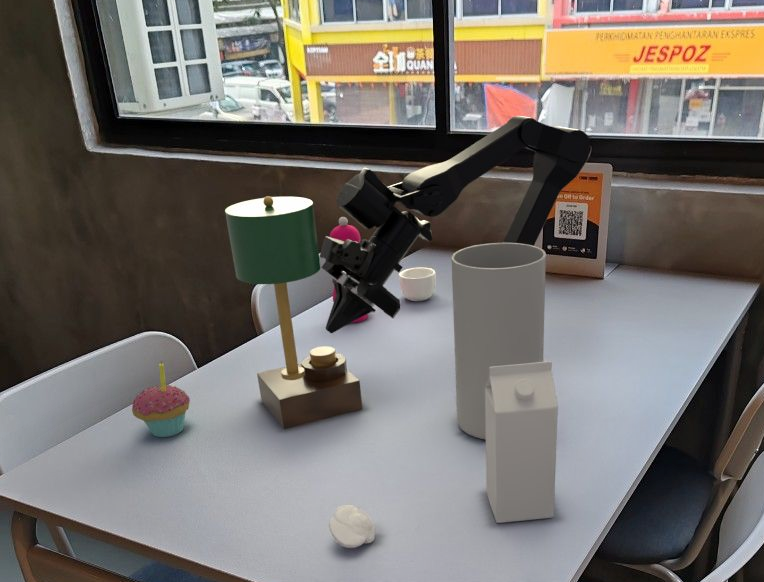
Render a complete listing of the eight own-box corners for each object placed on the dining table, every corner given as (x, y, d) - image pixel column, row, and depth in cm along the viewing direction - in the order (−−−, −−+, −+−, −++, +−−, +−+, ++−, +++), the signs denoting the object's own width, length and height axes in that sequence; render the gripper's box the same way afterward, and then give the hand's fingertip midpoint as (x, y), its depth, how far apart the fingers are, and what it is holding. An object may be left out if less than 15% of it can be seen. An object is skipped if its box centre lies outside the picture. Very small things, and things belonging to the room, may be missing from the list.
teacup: (427, 305, 171) (426, 279, 168) (394, 302, 174) (392, 277, 171) (445, 290, 179) (444, 265, 176) (413, 288, 182) (412, 263, 179)
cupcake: (205, 421, 130) (190, 349, 124) (175, 446, 123) (158, 371, 117) (159, 416, 133) (141, 346, 126) (127, 440, 126) (108, 367, 120)
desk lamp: (317, 354, 132) (295, 183, 119) (344, 380, 123) (324, 196, 109) (244, 371, 128) (213, 195, 115) (267, 398, 119) (236, 210, 105)
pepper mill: (365, 324, 164) (356, 221, 153) (330, 323, 165) (319, 221, 155) (374, 312, 170) (365, 212, 159) (340, 311, 171) (329, 212, 161)
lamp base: (335, 383, 139) (330, 344, 136) (362, 409, 130) (358, 368, 126) (261, 401, 135) (254, 361, 131) (284, 429, 126) (277, 387, 122)
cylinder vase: (531, 447, 116) (534, 270, 103) (446, 437, 120) (439, 267, 107) (549, 409, 126) (554, 244, 113) (470, 401, 130) (466, 241, 117)
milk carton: (486, 494, 106) (484, 355, 96) (540, 488, 106) (544, 350, 96) (496, 524, 100) (495, 379, 90) (554, 518, 100) (559, 373, 90)
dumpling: (342, 526, 102) (347, 497, 101) (380, 539, 101) (386, 511, 99) (317, 548, 96) (321, 518, 94) (357, 563, 95) (362, 533, 93)
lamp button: (331, 356, 132) (329, 344, 131) (340, 364, 129) (338, 352, 128) (307, 361, 131) (306, 349, 130) (316, 370, 128) (314, 357, 127)
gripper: (326, 204, 128) (269, 287, 130) (373, 227, 114) (308, 320, 116) (377, 246, 135) (322, 324, 137) (427, 273, 120) (365, 360, 122)
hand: (328, 331), depth 128 cm, fingers closed
